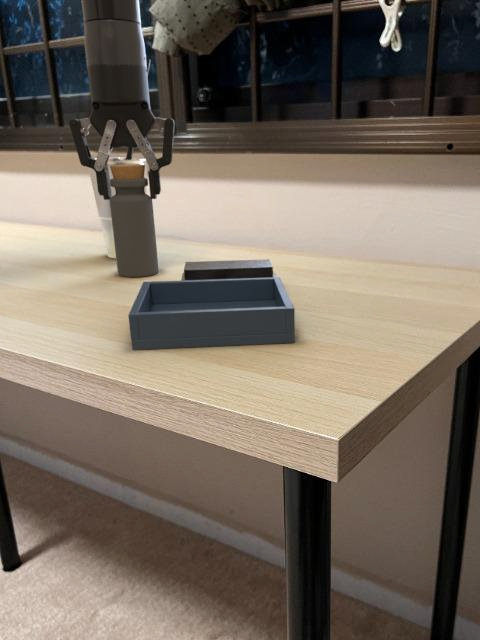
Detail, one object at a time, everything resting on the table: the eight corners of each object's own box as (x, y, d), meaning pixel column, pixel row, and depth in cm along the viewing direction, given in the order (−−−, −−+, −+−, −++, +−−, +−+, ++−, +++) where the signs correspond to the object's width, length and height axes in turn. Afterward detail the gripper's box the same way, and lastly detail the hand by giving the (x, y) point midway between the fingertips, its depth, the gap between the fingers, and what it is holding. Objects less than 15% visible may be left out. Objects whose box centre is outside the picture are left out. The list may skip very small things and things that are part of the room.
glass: (166, 248, 109) (150, 58, 97) (158, 260, 98) (139, 49, 87) (105, 249, 108) (81, 58, 96) (90, 261, 98) (61, 49, 86)
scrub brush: (181, 298, 76) (179, 270, 74) (183, 287, 81) (181, 261, 80) (277, 295, 77) (277, 267, 75) (273, 284, 82) (272, 258, 81)
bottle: (148, 267, 93) (138, 163, 88) (165, 273, 89) (156, 164, 83) (111, 272, 90) (99, 164, 84) (127, 279, 86) (115, 166, 80)
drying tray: (132, 350, 58) (128, 314, 57) (146, 311, 70) (143, 281, 69) (294, 342, 60) (294, 308, 58) (280, 306, 72) (280, 276, 71)
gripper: (52, 61, 75) (72, 203, 81) (171, 61, 76) (181, 200, 83) (66, 66, 82) (83, 197, 88) (174, 67, 83) (183, 195, 90)
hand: (130, 198), depth 86 cm, fingers closed on bottle, 5 cm apart
